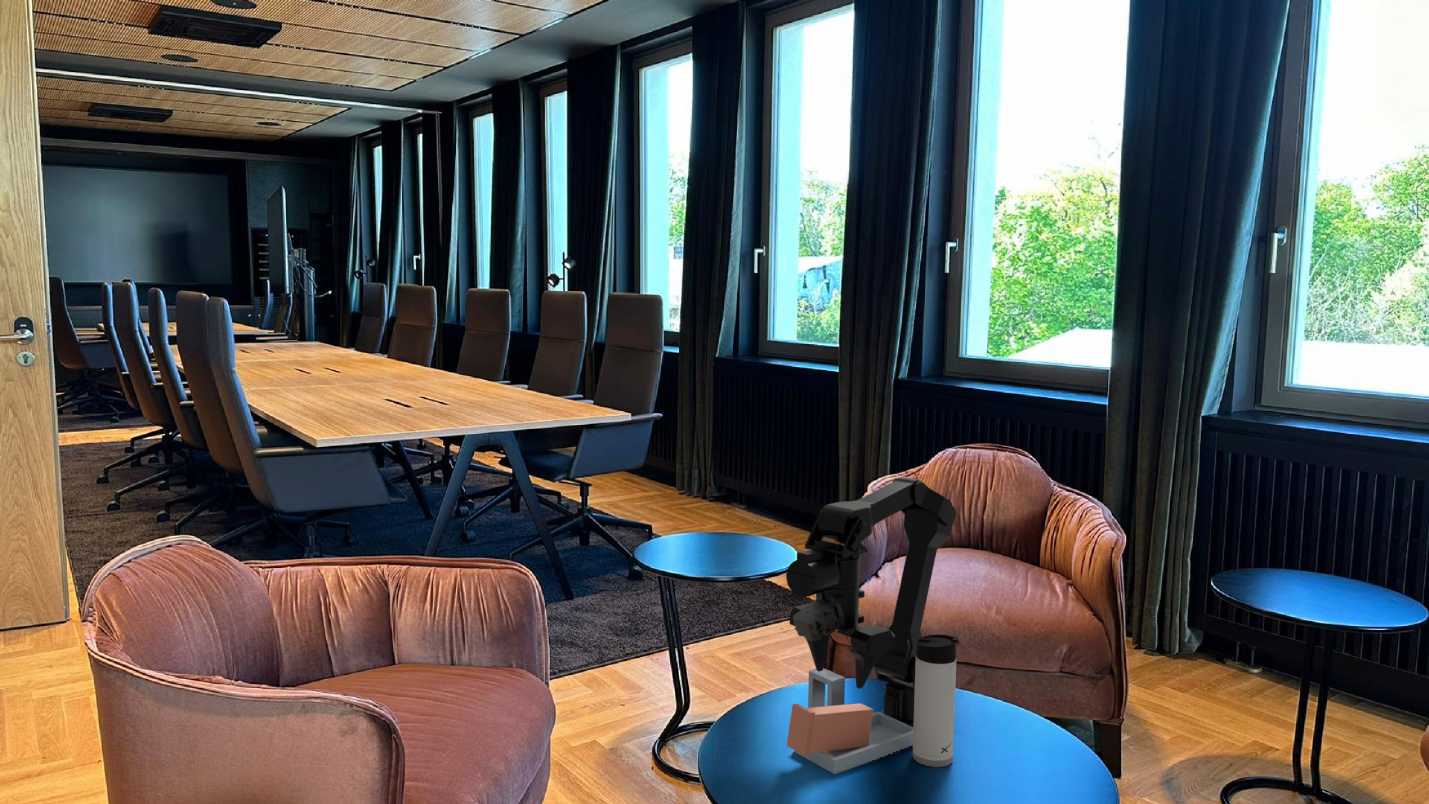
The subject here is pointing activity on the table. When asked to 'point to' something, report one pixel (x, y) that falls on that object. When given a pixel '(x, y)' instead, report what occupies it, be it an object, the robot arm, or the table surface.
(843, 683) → the bracket
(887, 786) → the table surface
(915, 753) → the travel mug
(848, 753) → the tray
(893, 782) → the table surface
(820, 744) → the pink curved block
